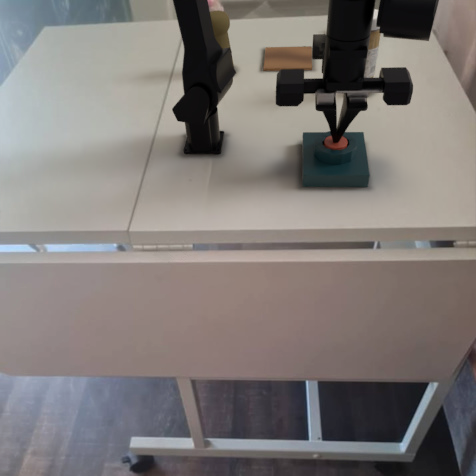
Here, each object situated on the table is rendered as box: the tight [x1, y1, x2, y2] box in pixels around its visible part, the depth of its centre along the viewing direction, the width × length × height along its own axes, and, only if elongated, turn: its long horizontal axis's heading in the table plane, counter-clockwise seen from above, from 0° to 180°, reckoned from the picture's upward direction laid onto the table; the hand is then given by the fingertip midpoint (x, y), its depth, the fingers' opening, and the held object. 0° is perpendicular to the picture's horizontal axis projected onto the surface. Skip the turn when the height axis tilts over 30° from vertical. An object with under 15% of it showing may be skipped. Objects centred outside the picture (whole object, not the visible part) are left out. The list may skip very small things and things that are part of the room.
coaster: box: [262, 46, 313, 72], centre depth 102 cm, size 10×10×1 cm
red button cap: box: [324, 136, 348, 150], centre depth 75 cm, size 4×4×2 cm
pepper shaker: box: [210, 10, 235, 68], centre depth 96 cm, size 6×6×11 cm
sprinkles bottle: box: [364, 8, 382, 78], centre depth 87 cm, size 5×5×14 cm
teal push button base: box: [301, 130, 371, 188], centre depth 76 cm, size 12×10×4 cm
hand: (335, 141), depth 75 cm, fingers closed, pressing on red button cap
